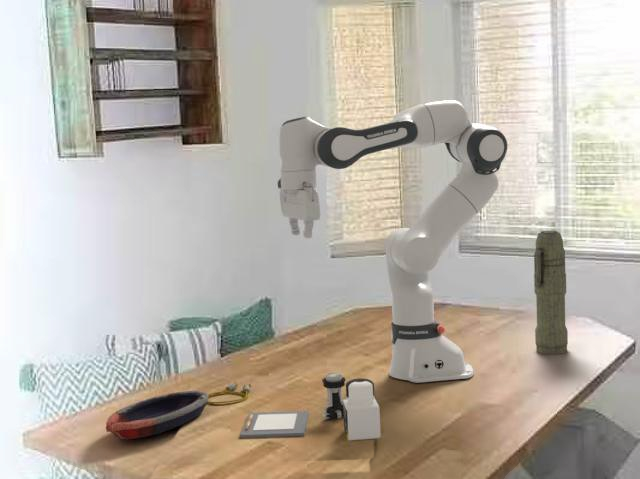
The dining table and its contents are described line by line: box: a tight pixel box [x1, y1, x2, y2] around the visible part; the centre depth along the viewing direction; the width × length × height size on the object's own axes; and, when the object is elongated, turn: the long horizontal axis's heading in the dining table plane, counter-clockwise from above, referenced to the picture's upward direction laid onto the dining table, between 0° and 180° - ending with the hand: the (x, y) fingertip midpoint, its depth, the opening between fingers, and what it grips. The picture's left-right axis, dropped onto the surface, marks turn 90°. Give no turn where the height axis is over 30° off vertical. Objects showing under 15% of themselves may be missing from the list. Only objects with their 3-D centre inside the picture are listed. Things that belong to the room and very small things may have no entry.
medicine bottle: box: [342, 378, 382, 441], centre depth 193 cm, size 7×7×12 cm
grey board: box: [239, 410, 309, 439], centre depth 203 cm, size 14×16×1 cm
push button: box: [321, 372, 346, 421], centre depth 206 cm, size 7×5×10 cm
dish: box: [105, 390, 209, 440], centre depth 208 cm, size 16×31×5 cm, turn 144°
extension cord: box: [206, 381, 252, 406], centre depth 228 cm, size 12×16×2 cm
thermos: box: [533, 230, 569, 356], centre depth 255 cm, size 9×12×35 cm
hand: (301, 236), depth 228 cm, fingers open, 8 cm apart
